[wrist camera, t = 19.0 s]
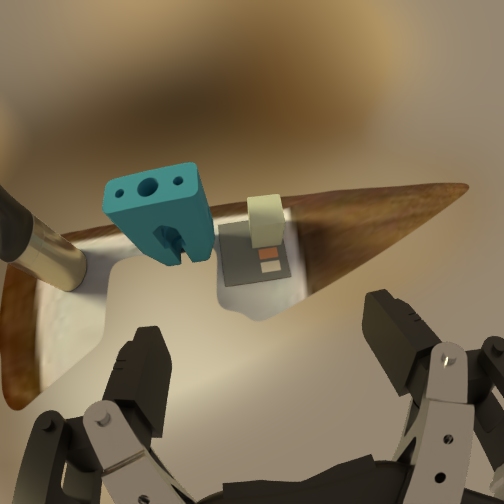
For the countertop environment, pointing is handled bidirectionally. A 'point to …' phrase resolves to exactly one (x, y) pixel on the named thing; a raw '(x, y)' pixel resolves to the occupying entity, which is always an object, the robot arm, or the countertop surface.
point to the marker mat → (249, 257)
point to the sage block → (266, 220)
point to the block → (163, 212)
